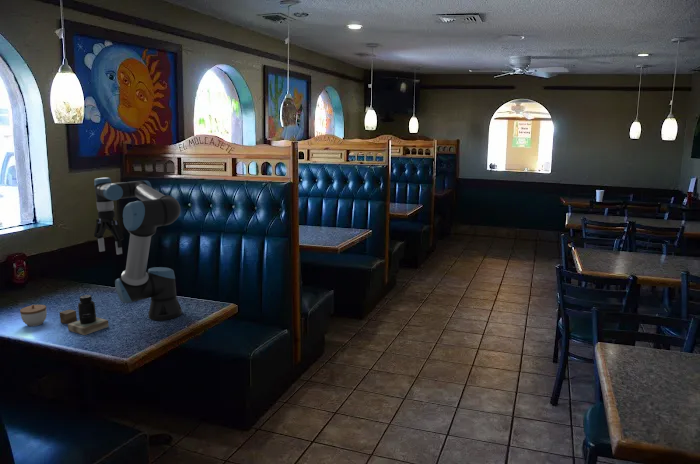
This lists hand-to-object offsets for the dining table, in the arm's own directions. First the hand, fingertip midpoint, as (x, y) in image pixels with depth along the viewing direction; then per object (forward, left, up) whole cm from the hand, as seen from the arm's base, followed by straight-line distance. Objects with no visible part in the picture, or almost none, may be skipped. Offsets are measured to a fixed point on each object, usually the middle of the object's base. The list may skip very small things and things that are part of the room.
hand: (110, 252), depth 275 cm
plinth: (-13, +24, -29) cm, 40 cm away
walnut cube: (+4, +23, -29) cm, 37 cm away
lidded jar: (+15, +33, -29) cm, 46 cm away
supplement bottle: (-13, +24, -26) cm, 37 cm away
